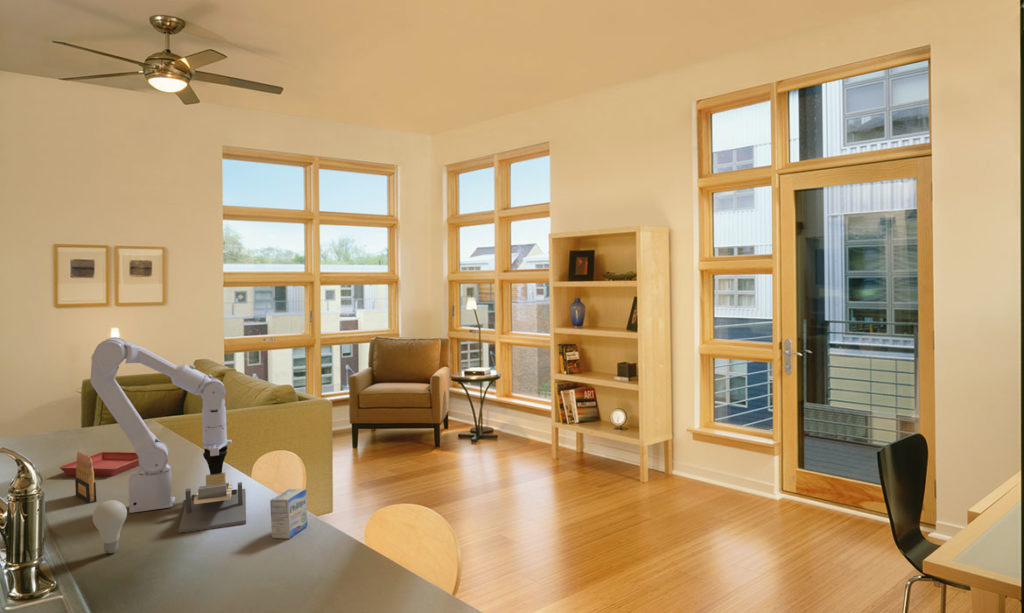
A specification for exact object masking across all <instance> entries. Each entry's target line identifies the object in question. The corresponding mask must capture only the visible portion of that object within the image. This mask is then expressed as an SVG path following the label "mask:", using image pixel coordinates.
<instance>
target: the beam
mask: <svg viewBox="0 0 1024 613" xmlns="http://www.w3.org/2000/svg"><path fill="white" fill-rule="evenodd" d="M237 490H238V488H237V489H233V484H232V483H229V482H226V483H225V484H217V485H209V486H206V485H202V486H199V487H198V489H197V493H196V494H191V496H192V500H194V504H200V503H208V502H215V501H223V500H230V499H231V494H232V495H235V494H237Z"/></svg>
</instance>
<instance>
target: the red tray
mask: <svg viewBox="0 0 1024 613" xmlns="http://www.w3.org/2000/svg"><path fill="white" fill-rule="evenodd" d="M90 457H91V459H92V463H93V471H94V477H115V476H117V475H119V474H121V473H125V472H127V471H129V470H131V468H132V469H134V468H136V466H137V467H138V466H139V458H138V456H137V454H136V453H135V452H124V451H120V452H119V451H117V452H116V451H101V452H98V453H95V454H92V455H90ZM76 464H77V460H75V461H72V462H69V463H66V464H63V465H61V466H59V469H60V470H61V471H62V472H63V473H66V474H67V475H68V476H72V475H73V476H74V477H76ZM139 467H140V466H139Z"/></svg>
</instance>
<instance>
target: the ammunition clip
mask: <svg viewBox="0 0 1024 613" xmlns="http://www.w3.org/2000/svg"><path fill="white" fill-rule="evenodd" d="M90 456H91V455H90ZM90 456H89V455H87V453H84V452H83V453H82V451H80V450H79V451H78V452H77V454H76V461H77V464H76V476H74V479H75V480H74V481H75V485H74V486H75V497H77V498H79V499H80V500H82V501H84V502H85V503H86V504H93V503H96V502H97V485H96V482H95V476H94V471H93V463H92V459H91V457H90Z"/></svg>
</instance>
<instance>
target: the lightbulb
mask: <svg viewBox="0 0 1024 613" xmlns="http://www.w3.org/2000/svg"><path fill="white" fill-rule="evenodd" d="M127 515H128V510H127V508H126V506H125V504H124V503H123V502H122V501H121V502H120V501H119V500H114V499H111V500H106V501H103V502H101V503H100V504H99V505H98V506H97V507H95V509H94V510H93V513H92V522H93V525H94V526H95V527H96V529H97V530H98V532H99V535H100V536H101V541H102V543H103V544H102V545H103V550H104V552H105V553H108V554H111V555H112V554H115V552H116V551H117V550H118V549H119V546H120V545H119V540H120V537H121V536H120V535H121V530H122V527H123V525H124V523H125V521H126V519H127Z"/></svg>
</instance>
